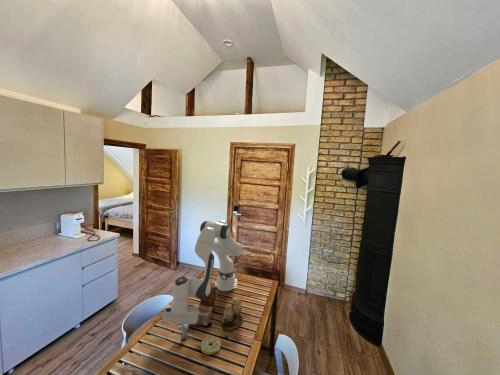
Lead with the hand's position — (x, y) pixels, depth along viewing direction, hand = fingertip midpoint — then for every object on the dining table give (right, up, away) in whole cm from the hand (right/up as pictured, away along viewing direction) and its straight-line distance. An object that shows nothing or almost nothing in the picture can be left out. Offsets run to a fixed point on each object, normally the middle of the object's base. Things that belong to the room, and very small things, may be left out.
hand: (180, 329), depth 128 cm
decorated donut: (+19, -7, -6) cm, 21 cm away
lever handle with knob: (+2, -5, +5) cm, 7 cm away
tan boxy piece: (+8, -4, +14) cm, 17 cm away
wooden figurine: (+11, -4, +26) cm, 29 cm away
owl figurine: (+29, -6, +15) cm, 33 cm away
